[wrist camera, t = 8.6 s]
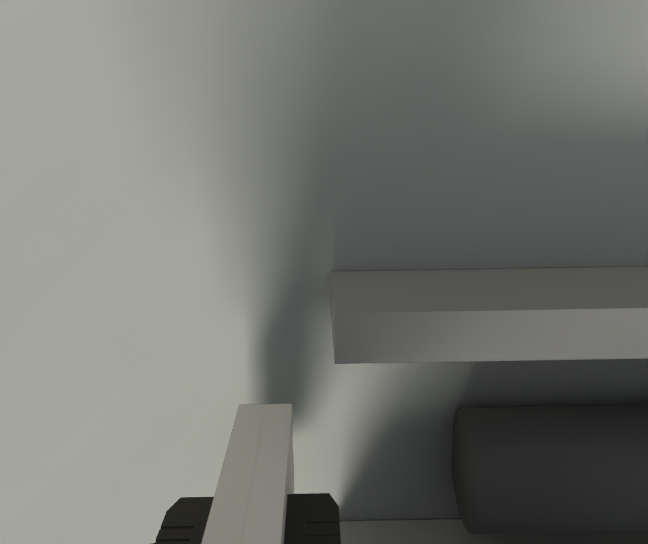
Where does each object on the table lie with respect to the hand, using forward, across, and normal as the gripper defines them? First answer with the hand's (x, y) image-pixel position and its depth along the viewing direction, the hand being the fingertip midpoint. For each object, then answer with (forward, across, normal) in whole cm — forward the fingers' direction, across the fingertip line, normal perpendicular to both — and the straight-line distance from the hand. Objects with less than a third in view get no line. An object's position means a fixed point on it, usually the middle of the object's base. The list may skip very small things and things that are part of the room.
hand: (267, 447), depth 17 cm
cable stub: (+1, +11, 0) cm, 11 cm away
